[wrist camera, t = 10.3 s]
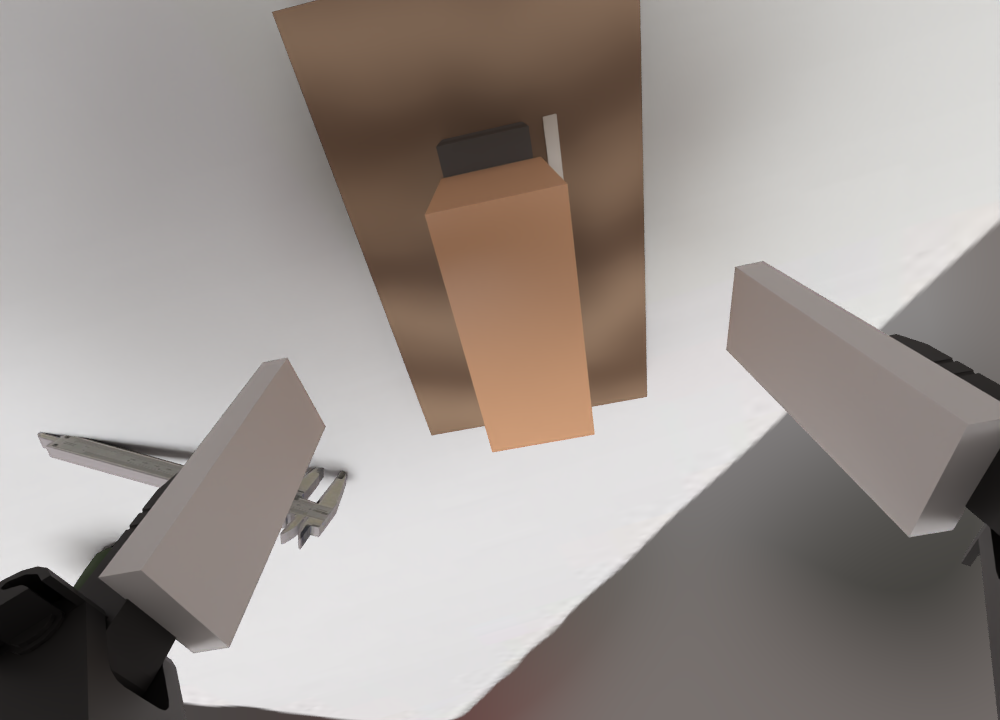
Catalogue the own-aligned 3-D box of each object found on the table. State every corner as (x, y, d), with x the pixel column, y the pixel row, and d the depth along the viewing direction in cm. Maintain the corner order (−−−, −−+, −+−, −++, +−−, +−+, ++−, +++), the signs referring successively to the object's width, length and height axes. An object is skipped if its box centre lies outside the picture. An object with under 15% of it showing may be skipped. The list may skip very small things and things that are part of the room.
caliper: (349, 468, 32) (323, 541, 27) (348, 478, 33) (323, 552, 28) (42, 429, 29) (-55, 503, 24) (47, 441, 30) (-47, 516, 24)
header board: (291, 19, 18) (166, -30, 11) (622, -65, 17) (727, -181, 10) (434, 415, 30) (419, 519, 22) (637, 378, 29) (690, 474, 21)
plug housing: (441, 178, 17) (424, 214, 12) (540, 156, 17) (567, 183, 12) (489, 368, 22) (492, 452, 17) (567, 353, 22) (594, 434, 16)
